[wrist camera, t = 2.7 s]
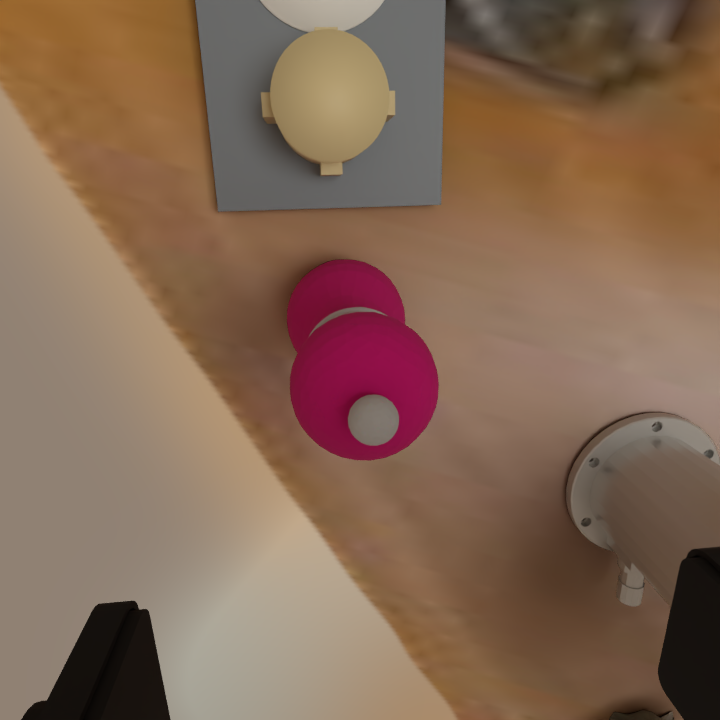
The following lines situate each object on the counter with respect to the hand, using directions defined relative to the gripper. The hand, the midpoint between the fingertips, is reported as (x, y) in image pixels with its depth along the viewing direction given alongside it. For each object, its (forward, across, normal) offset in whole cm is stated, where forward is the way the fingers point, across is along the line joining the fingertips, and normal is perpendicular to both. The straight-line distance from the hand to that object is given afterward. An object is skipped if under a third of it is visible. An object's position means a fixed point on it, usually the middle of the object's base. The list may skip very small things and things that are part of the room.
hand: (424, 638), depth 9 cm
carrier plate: (+28, 0, -16) cm, 33 cm away
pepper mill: (+29, 0, 0) cm, 29 cm away
